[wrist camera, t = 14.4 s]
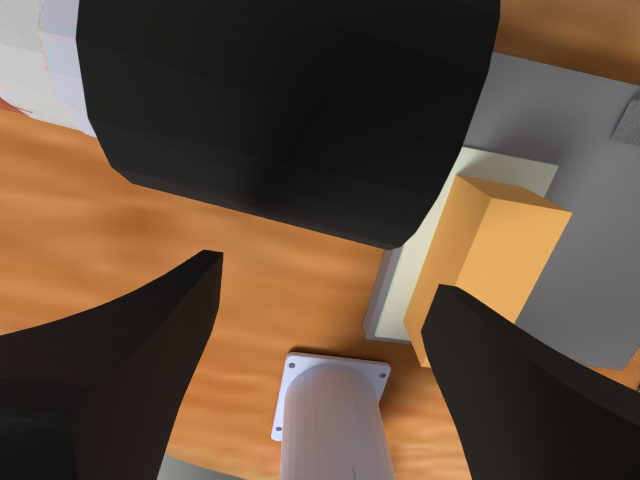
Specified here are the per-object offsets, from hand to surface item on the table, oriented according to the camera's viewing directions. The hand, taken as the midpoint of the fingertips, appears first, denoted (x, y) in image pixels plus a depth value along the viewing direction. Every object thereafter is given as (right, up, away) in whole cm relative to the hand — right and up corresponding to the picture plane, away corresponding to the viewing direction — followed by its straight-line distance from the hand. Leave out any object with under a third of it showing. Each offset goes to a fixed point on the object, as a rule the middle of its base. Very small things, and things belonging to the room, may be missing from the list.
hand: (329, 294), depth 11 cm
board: (+14, +2, +11) cm, 18 cm away
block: (+8, +1, +10) cm, 13 cm away
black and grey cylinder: (-13, +12, +6) cm, 19 cm away
